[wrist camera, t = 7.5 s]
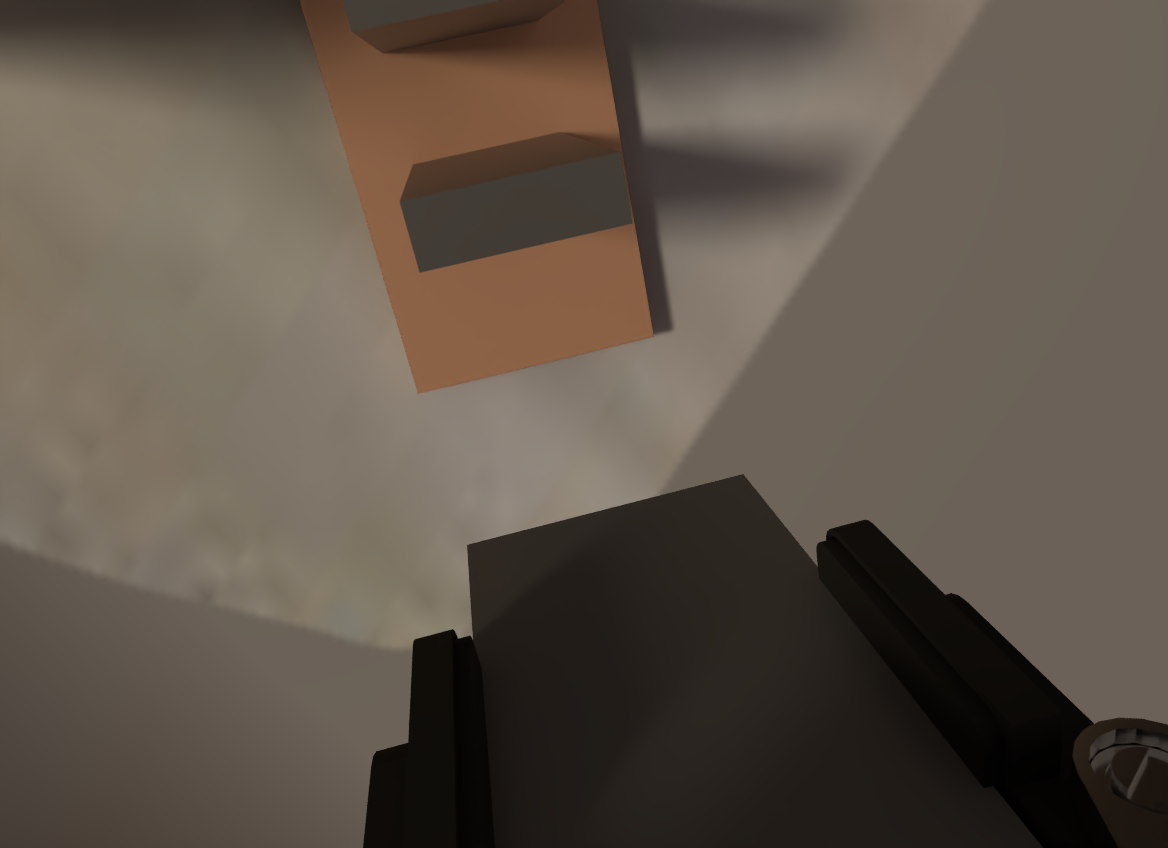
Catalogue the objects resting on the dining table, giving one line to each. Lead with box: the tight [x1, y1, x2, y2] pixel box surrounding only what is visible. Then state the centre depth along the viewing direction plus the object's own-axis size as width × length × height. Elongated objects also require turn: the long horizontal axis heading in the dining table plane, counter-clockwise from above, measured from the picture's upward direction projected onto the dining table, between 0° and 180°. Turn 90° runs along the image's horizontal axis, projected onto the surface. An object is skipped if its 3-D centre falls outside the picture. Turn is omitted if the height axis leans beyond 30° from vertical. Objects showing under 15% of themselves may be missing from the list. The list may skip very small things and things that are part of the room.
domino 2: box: [399, 132, 633, 273], centre depth 23 cm, size 2×5×10 cm, turn 101°
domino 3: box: [467, 474, 1043, 848], centre depth 10 cm, size 2×5×10 cm, turn 101°
